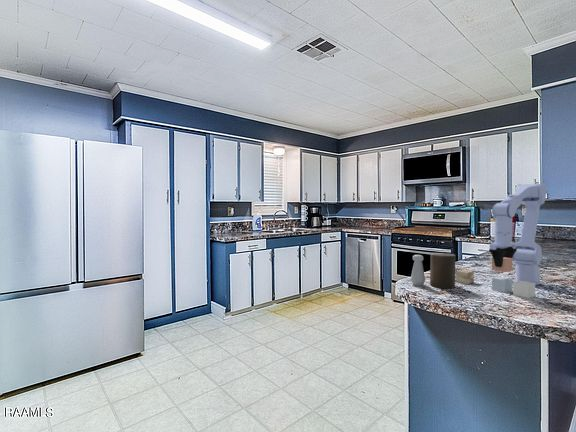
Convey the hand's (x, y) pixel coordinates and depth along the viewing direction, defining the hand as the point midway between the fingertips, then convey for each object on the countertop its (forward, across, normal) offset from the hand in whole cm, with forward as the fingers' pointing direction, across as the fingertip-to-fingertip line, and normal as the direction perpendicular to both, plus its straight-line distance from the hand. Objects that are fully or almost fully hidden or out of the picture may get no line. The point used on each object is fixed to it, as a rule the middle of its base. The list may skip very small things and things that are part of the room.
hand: (502, 266), depth 128 cm
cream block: (+10, 0, +8) cm, 13 cm away
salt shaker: (+10, +23, -22) cm, 33 cm away
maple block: (+10, 0, -16) cm, 19 cm away
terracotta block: (+2, 0, 0) cm, 2 cm away
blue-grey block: (+10, 0, 0) cm, 10 cm away
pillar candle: (+10, +15, -16) cm, 24 cm away
